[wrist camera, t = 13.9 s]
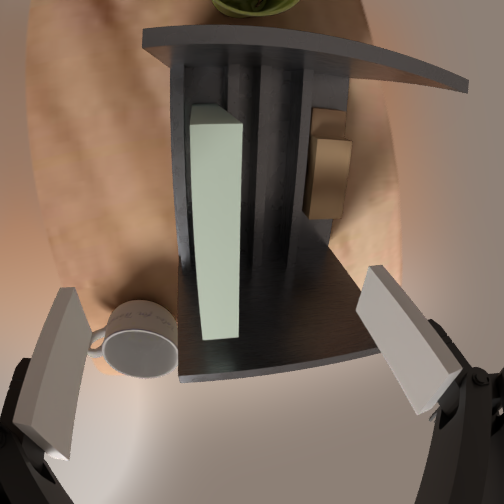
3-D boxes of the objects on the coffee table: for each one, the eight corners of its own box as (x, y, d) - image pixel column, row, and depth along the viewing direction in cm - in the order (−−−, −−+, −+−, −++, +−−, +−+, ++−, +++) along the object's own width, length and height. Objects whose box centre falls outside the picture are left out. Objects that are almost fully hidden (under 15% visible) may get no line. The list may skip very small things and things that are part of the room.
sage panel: (191, 103, 28) (190, 124, 13) (216, 103, 29) (242, 123, 14) (195, 225, 36) (202, 340, 21) (216, 224, 36) (238, 337, 21)
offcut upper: (310, 135, 30) (317, 138, 29) (344, 137, 31) (352, 141, 29) (302, 212, 35) (308, 219, 33) (334, 211, 36) (341, 218, 34)
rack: (171, 60, 27) (142, 28, 10) (343, 70, 30) (468, 80, 14) (179, 256, 39) (180, 382, 23) (322, 247, 42) (392, 349, 26)
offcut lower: (306, 106, 31) (312, 108, 29) (339, 109, 31) (346, 111, 30) (297, 205, 37) (302, 212, 35) (327, 205, 37) (334, 211, 36)
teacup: (184, 294, 42) (184, 335, 36) (176, 345, 47) (177, 385, 41) (88, 281, 38) (73, 320, 32) (93, 334, 43) (84, 373, 37)
